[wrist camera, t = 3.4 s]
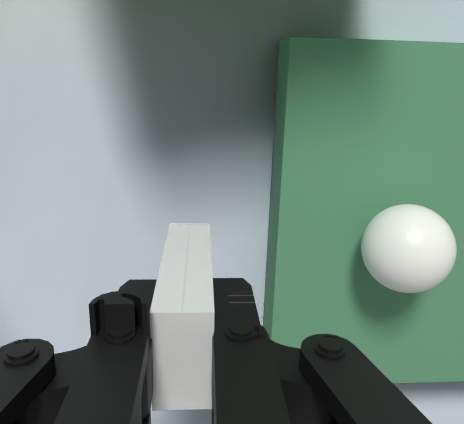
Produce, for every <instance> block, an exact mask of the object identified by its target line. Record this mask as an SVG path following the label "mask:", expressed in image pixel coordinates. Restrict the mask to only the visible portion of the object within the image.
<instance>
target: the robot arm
mask: <svg viewBox="0 0 464 424" xmlns="http://www.w3.org/2000/svg"><path fill="white" fill-rule="evenodd" d="M89 314H90V328H91V337H90V340H89V342H88V344H87V346H84V347H82V348H79V349H76V350H72V351H67V352H62V353H58V354H54V348H53V345H51V344H50V343H49V342H48V341H45V340H41V339H23V340H17V341H14V342H12V343H9V344H7V345H4V346H2V347H1V348H0V424H151V412H150V408H151V402H152V411H153V410H197V409H212V424H432V423H431V422H430V421H429V420H428V419H427V418H426V417H425V416H424V415H423V414H422V413H421V412H420V411H419V410H418V409H417V408H416V407H415V406H414V405H413V404H412V403H411V402H410V401H409V400H408V399H407V398H406V397H405V396H404V394H403V393H402V392H401V391H400V390H399V389H398V388H397V387H396V386H395V385H394V384H393V383H392V382H391V381H390V380H389V379H388V378H387V377H386V376H385V375H384V374H383V373H382V372H381V371H380V370H379V369H378V368H377V367H376V366H375V365H374V364H373V363H372V362H371V361H370V360H369V359H368V358H367V357H366V356H365V355H364V354H363V353H362V352H361V351H360V350H359V349H358V348H357V347H356V346H355V345H354V344H353V343H351V342H350V341H349V340H347V339H344V338H342V337H339V336H337V335H333V334H332V335H331V334H315V335H312V336H308V337H307V338H306V339H304V340H303V341H302V344H301V348H295V347H289V346H285V345H281V344H279V343H276V342H274V341H272V340H271V339H269V335H268V333H267V331H266V329H265V328H264V327H263V326H261V325H260V321H259V317H258V312H257V308H256V304H255V300H254V296H253V291H252V287H251V285H250V284H249V283H248V282H247V281H245V280H244V279H243V278H213V274H212V256H211V237H210V223H169V228H168V232H167V237H166V241H165V246H164V250H163V255H162V259H161V264H160V268H159V273H158V277H157V280H129V281H127V282H126V283H125V284H123V285H122V286H121V287H120V288H119V291H116V292H110V293H106V294H102V295H100V296H98V297H96V298H95V299H93V300H92V301H91V302H90V304H89Z"/></svg>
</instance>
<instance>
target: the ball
mask: <svg viewBox="0 0 464 424" xmlns="http://www.w3.org/2000/svg"><path fill="white" fill-rule="evenodd" d="M361 253H362V258H363V261H364V264H365V266H366V268H367V270H368V271H369V273H370V274H371V275H372V276H373V277H374V278H375V279H376V280H377V281H378V282H379V283H380V284H382V285H383V286H385V287H387V288H389V289H391V290H394V291H398V292H402V293H418V292H423V291H426V290H429V289H431V288H433V287H435V286H437V285H438V284H440V283H441V282H442V281H443V280H444V279H445V278H446V277H447V276H448V275H449V273H450V272H451V270H452V268H453V266H454V263H455V259H456V253H457V246H456V240H455V237H454V234H453V232H452V230H451V228H450V226H449V225H448V223H447V222H446V221H445V220H444V219H443V218H442V217H441V216H440V215H438V214H437V213H436V212H434V211H432V210H430V209H428V208H426V207H423V206H419V205H414V204H401V205H395V206H392V207H389V208H387V209H385V210H383V211H381V212H380V213H378V214H377V215H376V216H375V217H374V218H373V219H372V220H371V221H370V222H369V224H368V225H367V227H366V229H365V231H364V233H363V236H362V241H361Z"/></svg>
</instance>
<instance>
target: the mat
mask: <svg viewBox="0 0 464 424" xmlns="http://www.w3.org/2000/svg"><path fill="white" fill-rule="evenodd" d="M401 204H414V205H419V206H423V207H426V208H428V209H430V210H432V211H434V212H436V213H437V214H438V215H440V216H441V217H442V218H443V219H444V220H445V221H446V222H447V223H448V225H449V226H450V228H451V230H452V232H453V234H454V237H455V240H456V246H457V253H456V259H455V263H454V266H453V268H452V270H451V272H450V273H449V275H448V276H447V277H446V278H445V279H444V280H443V281H442V282H441V283H440V284H438V285H437V286H435V287H433V288H431V289H429V290H426V291H423V292H418V293H402V292H398V291H394V290H391V289H389V288H387V287H385V286H383V285H382V284H380V283H379V282H378V281H377V280H376V279H375V278H374V277H373V276H372V275H371V274H370V273H369V271H368V270H367V268H366V266H365V264H364V261H363V258H362V253H361V241H362V236H363V233H364V231H365V229H366V227H367V225H368V224H369V222H370V221H371V220H372V219H373V218H374V217H375V216H376V215H377V214H378V213H380V212H381V211H383V210H385V209H387V208H389V207H392V206H395V205H401ZM263 327H264V328H265V329H266V331H267V333H268V335H269V339H271V340H272V341H274V342H276V343H279V344H281V345H285V346H289V347H295V348H301V344H302V341H303V340H304V339H306V338H307V337H308V336H312V335H315V334H331V335H332V334H333V335H337V336H339V337H342V338H344V339H347V340H349V341H350V342H351V343H353V344H354V345H355V346H356V347H357V348H358V349H359V350H360V351H361V352H362V353H363V354H364V355H365V356H366V357H367V358H368V359H369V360H370V361H371V362H372V363H373V364H374V365H375V366H376V367H377V368H378V369H379V370H380V371H381V372H382V373H383V374H384V375H385V376H386V377H387V378H388V379H389V380H390V381H391V382H392V383H421V382H460V381H464V43H447V42H421V41H394V40H368V39H341V38H315V37H288V38H286V39H284V40H281V41H279V52H278V69H277V87H276V105H275V122H274V140H273V158H272V176H271V193H270V211H269V229H268V247H267V264H266V282H265V300H264V317H263Z"/></svg>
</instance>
